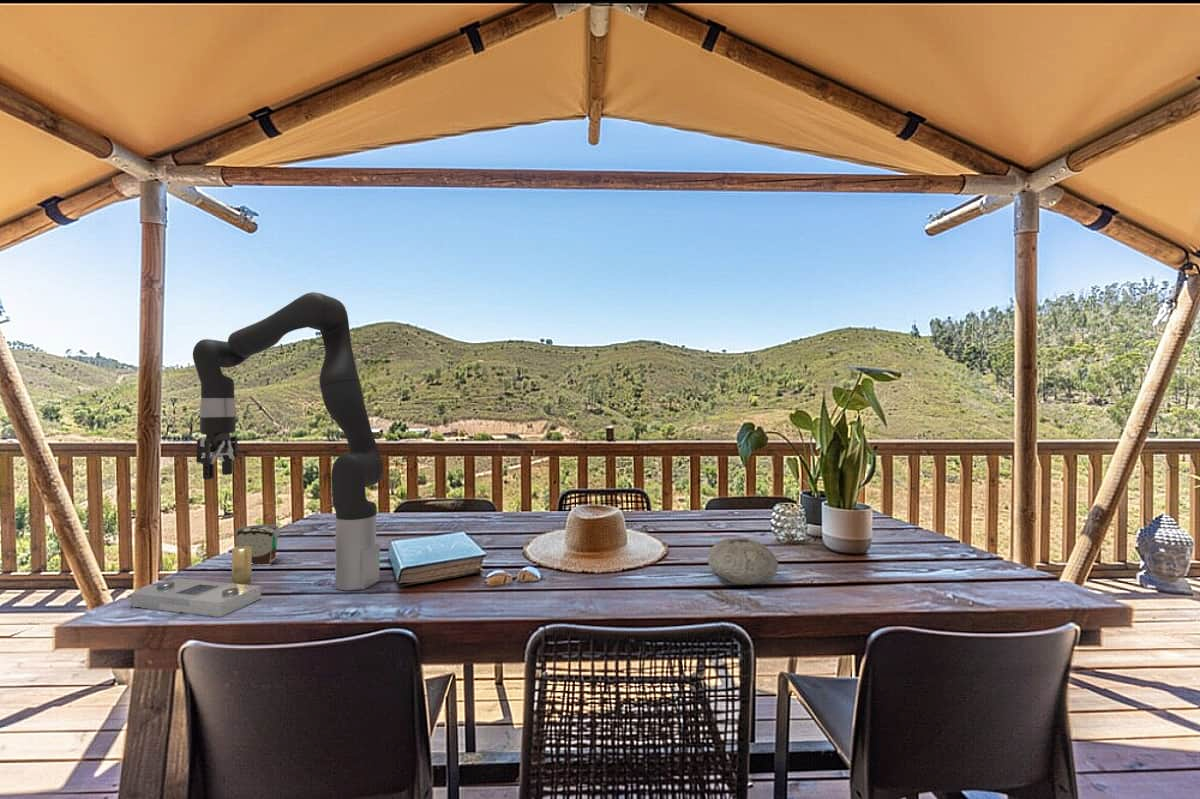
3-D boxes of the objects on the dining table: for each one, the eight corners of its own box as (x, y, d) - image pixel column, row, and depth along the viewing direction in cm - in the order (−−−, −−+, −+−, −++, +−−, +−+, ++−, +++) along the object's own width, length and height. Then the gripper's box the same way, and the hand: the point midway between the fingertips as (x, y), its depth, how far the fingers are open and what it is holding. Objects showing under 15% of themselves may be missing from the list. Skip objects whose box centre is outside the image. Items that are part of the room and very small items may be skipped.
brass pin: (255, 581, 126) (255, 546, 126) (240, 587, 122) (241, 551, 123) (242, 580, 127) (242, 545, 127) (227, 586, 123) (228, 549, 123)
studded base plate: (260, 599, 115) (261, 583, 115) (220, 617, 106) (220, 600, 106) (177, 590, 120) (177, 575, 120) (130, 607, 110) (131, 590, 110)
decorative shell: (792, 587, 125) (793, 547, 125) (733, 596, 119) (733, 554, 119) (748, 565, 142) (748, 530, 142) (694, 572, 136) (694, 535, 136)
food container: (290, 559, 145) (291, 524, 145) (274, 565, 139) (275, 530, 139) (251, 557, 146) (252, 523, 146) (234, 564, 140) (234, 528, 140)
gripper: (218, 415, 125) (218, 480, 125) (247, 415, 139) (248, 472, 139) (184, 416, 124) (184, 481, 124) (217, 415, 138) (218, 473, 138)
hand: (218, 476), depth 131 cm, fingers open, 8 cm apart
